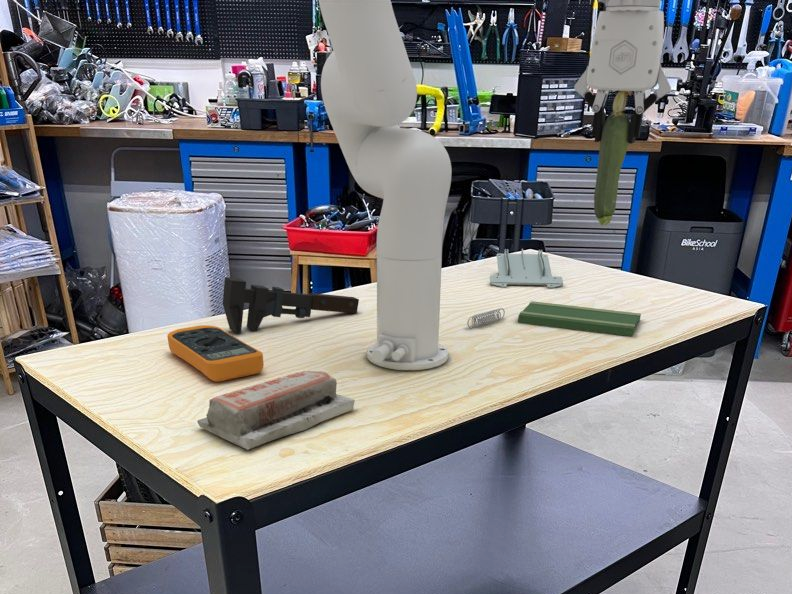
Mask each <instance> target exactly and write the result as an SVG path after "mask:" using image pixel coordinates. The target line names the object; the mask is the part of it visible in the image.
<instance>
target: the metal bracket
mask: <svg viewBox="0 0 792 594" xmlns="http://www.w3.org/2000/svg"><path fill="white" fill-rule="evenodd" d="M520 252H521V253H509V249H508V248H507V249H506V248H505V249H504V253H496V264H497V271H498V275H495V274H494V275H492V274H491V275H489V283H490V285H493V286H497V287H500V288H507V286H508V285H518V286H519V285H522V286H523V285H526V286H527V285H528V286H529V285H530V286H547V289H555V288H558V287H562V286H564V280H563V277H562V276H555V275H554V276H553V273H552V268H551V264H550V259H549V255H548V254H547V253H546V254H545V253H544V254H543V249H538V253H524V248H521V251H520Z"/></svg>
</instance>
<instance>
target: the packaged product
mask: <svg viewBox="0 0 792 594" xmlns="http://www.w3.org/2000/svg"><path fill="white" fill-rule="evenodd" d="M337 383H338V382H337V379H336V378H334V377H333V376H331V375H330V374H329V373H328V372H326V371H322V370H321V371H320V370H319V371H314V370H313V371H312V370H303V371H298V372H295V373H290V374H286V375H285V376H281V377H277V378H274V379H271V380H267V381H264V382H260V383H256V384H254V385H250V386H247V387H243V388H241V389H237V390H234V391H231V392H226V393H223V394H220V395H217V396H214V397H212V398H210V399H209V405H208V409H207V413H206V415H205V416H206V417H203V418H200V419H198V420H197V425H198V426H199V427H200V428H201V429H203V430H205V431H207V432H209V433H212V434H214V435H215V436H218V437H219V438H221V439H223V440H226V441H228V442H230V443H232V444H234V445H237V446H238V447H240V448H243V449H244V450H247V451H249V450H251V449H253V448H256V447H258V446H262V445H264V444H266V443H270V442H272V441H274V440H277V439H280V438H283V437H286V436H289V435H292V434H296V433H299V432H302V431H306V430H308V429H310V428H312V427H314V426H315V425H317V424H319V423H321V422H324V421H327V420H330V419H332V418H335V417H338V416H340V415H343V414H346V413H349V412H351V411H353V410H354V406H355V401H356V400H355V399H353V398H351V397H347V396H344V395H342V394H337Z"/></svg>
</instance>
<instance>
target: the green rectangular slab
mask: <svg viewBox="0 0 792 594" xmlns="http://www.w3.org/2000/svg"><path fill="white" fill-rule="evenodd" d="M641 316H642V313H639V312H629V311H621V310H611V309H604V308H596V307H595V308H594V307H588V306H587V307H586V306H576V305H569V304H561V303H560V304H559V303H550V302H544V301H543V302H542V301H533V300H531V301H529V303H528V305H526V307H525V308H524V309H523V310H521V311H520V312H519V313H518V316H517V317H518V318H517V323H519V324H528V325H535V326H543V327H550V328H559V329H569V330H575V331H576V330H577V331H585V332H593V333H601V334H610V335H617V336H624V337H633V336H634V333H635V332H636V330H637V328H638V325H639V323H640V322H641Z"/></svg>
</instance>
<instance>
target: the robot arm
mask: <svg viewBox="0 0 792 594" xmlns="http://www.w3.org/2000/svg"><path fill="white" fill-rule="evenodd" d="M596 2H598V3H601V2H602V4H604V5H605V10H601V11H599V13H598V17H597V19H596V20H597V21H596V24H595V28H594V33H593V38H592V43H591V49H590V53H589V54H590V55H589V61H588V66H587V68H586V69H585V70H584V72H583V73H582V75H581V76H580V77H579V79H578V80H577V82H575V84H574V86H573V87H574V91H576V92H577V93H578V94H579V95H580V96H581V97H582V98H583V99H584V100H585V101H586V103H587V104H588V105H589V107H590V109H591V110H592V112H593V118H592V119H593V120H592V126H591V127H592V128H591V136H594V143H600V141H601V134H602V129H603V126H604V123H605V121H606V117H607V116H606V115H607V113H606V112H605V104H606V101H607V98H608V95H609V93H610V91H618V92H619V91H628V92H629V91H631V92H634V107H635V108H634V109H633V113H632V114H631V116H630V120H629V121H630V128H629V135H628V145H629V144H631V145H632V144H635V142H636V138H640V137H641V130H642V124H643V117H644V113H645V112H646V111H647V110H649V108H650V107H652V106H653V105H654V104H655V103H656V102H657V101H658V100H660V99H662V98H663V97H664V96H666V95H667V94H669V93H670V92H671V91H672V86H671V84H670V82H669V80H668V77H667V76H666V74H665V71H664V70H663V69H664V68H662V59H663V58H662V57H663V46H664V31H665V16H664V11H663V10H660V7H661V2H662V0H596ZM318 4H319V10H320V13H321V17H322V20H323V23H324V25H325V28H326V32H327V35H328V39H329V41H330V44H331V47H332V50H333V51H332V52H330V55H329V56H328V57H327V58H326V60H325V63H324V64H323V67H322V71H321V74H320V75H321V76H320V90H321V99H322V103H323V107H324V110H325V111H326V114H327V117H328V119H329V123H330V125H331V127H332V129H333V132H334V134H335V135H334V136H335V138H336V139H337V143H338V145H339V148H340V149H341V152H342V154H343V157H344V159H345V162H346V164H347V166H348V169H349V171H350V173H351V175H352V177H353V178H354V180H355V183H357V185H358V186H359V187H360V188H361V189H362V190H363V191H365V192H366V193H367V194H369V195H371V196H374V197H377V198H380V199H382V200H383V201H382V205H381V210H380V214H379V217H378V218H379V219H378V223H377V230H376V342H375V343H372V344H371V345H370V346H369V347H368V348H367V350H366V357H367V359H368V361H369V362H370V363H372V364H374V365H375V366H378V367H382V368H385V369H391V370H397V371H423V370H428V369H433V368H437V367H440V366H442V365H443V364H445V363H446V362H447V361H448V359H449V351H448V348H446V347H445V346H444V345H442V344H440V343H439V341H440V340H439V338H440V337H439V336H440V315H441V314H440V313H441V312H440V311H441V291H442V289H441V288H442V287H441V286H442V266H443V265H442V264H443V263H442V261H443V238H444V237H443V236H444V223H445V222H444V221H445V214H446V210H447V209H446V208H447V205H448V199H449V194H450V189H451V184H452V172H453V171H452V162H451V159H450V155H449V153H448V151H447V149H446V148H445V146H444V145H443V144H442V142H441V141H440V140H439V139H437V138H436V137H435V136H433V135H431V134H429V133H427V132H425V131H422V130H419V129H418V130H417V129H412V128H405V127H400V126H399V124H401V123H403V122H405V121H406V120H407V119H408V118H409V117H411V115H412V113H413V111H414V110H415V107H416V104H417V100H418V87H417V81H416V78H415V74H414V71H413V68H412V65H411V62H410V59H409V56H408V53H407V49H406V47H405V43H404V39H403V38H402V35H401V31H400V28H399V25H398V22H397V19H396V16H395V11H394V8H393V5H392V2H391V0H318ZM657 85H658V88H657V89H656V90H655V91H653V92H652V93H650V94H649V95H648V96H646V95H647V94H646V91H649V90H652V89H654V88H655V87H657ZM588 87H589V88H588ZM590 89H593V90H596V91H597V92H596V94H595V93H594V92H593V91H592V90H590Z"/></svg>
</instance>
